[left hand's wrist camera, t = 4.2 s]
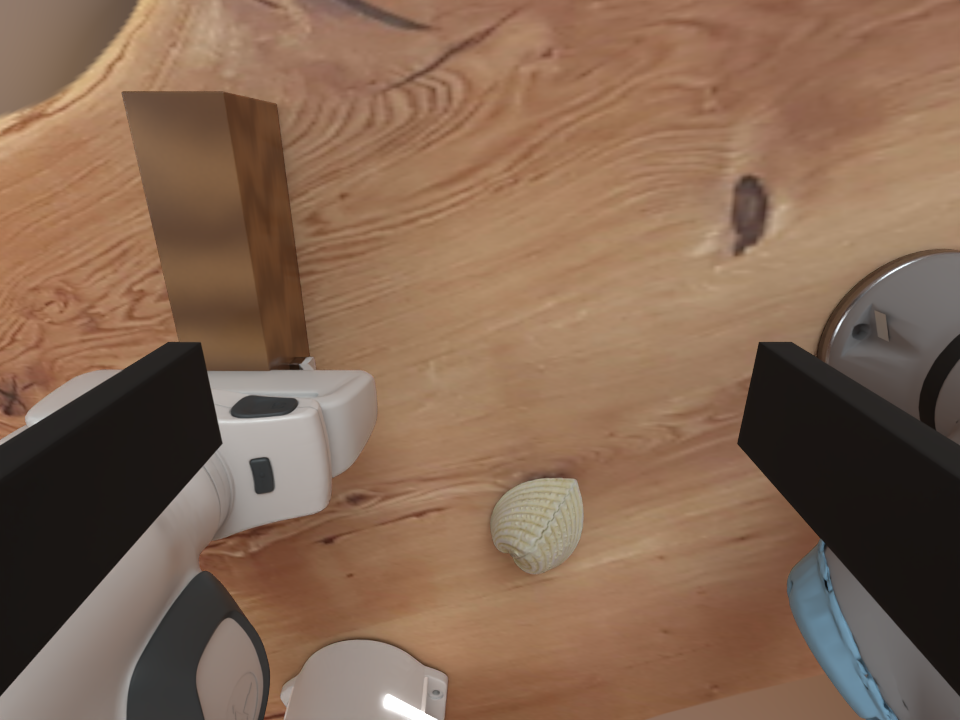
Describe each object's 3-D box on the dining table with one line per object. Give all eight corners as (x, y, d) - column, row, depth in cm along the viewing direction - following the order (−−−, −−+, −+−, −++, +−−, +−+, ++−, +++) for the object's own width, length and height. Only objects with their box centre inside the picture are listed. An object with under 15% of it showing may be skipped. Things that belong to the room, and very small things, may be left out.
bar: (195, 103, 37) (120, 91, 29) (276, 103, 37) (223, 91, 29) (249, 398, 45) (202, 447, 38) (315, 398, 45) (282, 447, 38)
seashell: (461, 542, 48) (493, 514, 42) (510, 482, 53) (545, 449, 47) (527, 606, 47) (570, 586, 41) (570, 538, 52) (614, 512, 46)
